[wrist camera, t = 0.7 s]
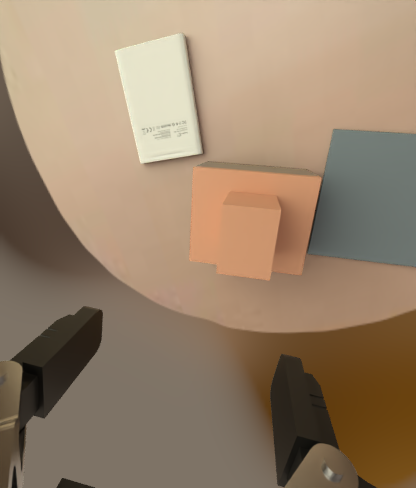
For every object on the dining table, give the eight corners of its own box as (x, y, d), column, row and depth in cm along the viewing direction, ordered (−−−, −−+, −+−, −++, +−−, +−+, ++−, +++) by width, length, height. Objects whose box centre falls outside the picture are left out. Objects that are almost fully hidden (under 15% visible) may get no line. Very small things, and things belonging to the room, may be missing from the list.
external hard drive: (186, 37, 30) (204, 153, 34) (120, 54, 32) (144, 163, 36) (182, 31, 29) (201, 154, 33) (113, 50, 31) (139, 164, 35)
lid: (198, 165, 29) (176, 173, 21) (316, 174, 27) (339, 188, 19) (194, 252, 32) (173, 287, 25) (298, 265, 31) (311, 307, 23)
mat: (333, 129, 31) (334, 129, 30) (494, 139, 28) (498, 139, 28) (307, 252, 36) (307, 253, 36) (441, 268, 34) (443, 270, 33)
